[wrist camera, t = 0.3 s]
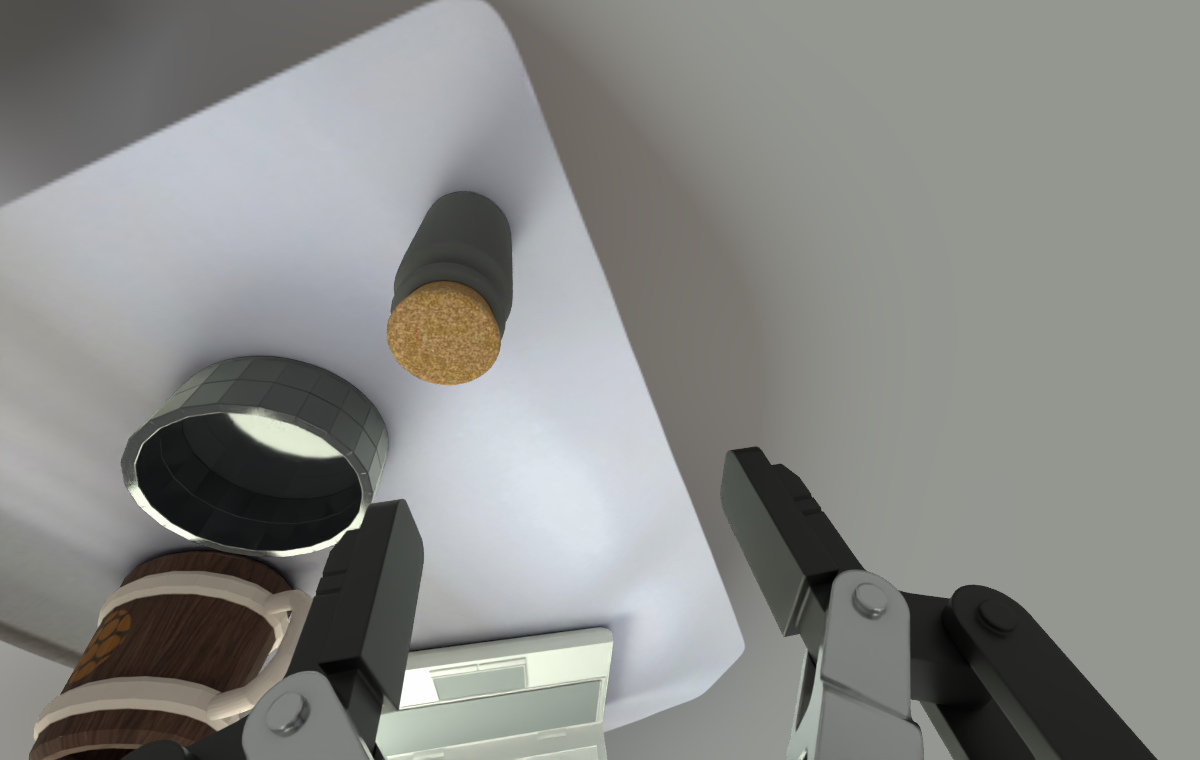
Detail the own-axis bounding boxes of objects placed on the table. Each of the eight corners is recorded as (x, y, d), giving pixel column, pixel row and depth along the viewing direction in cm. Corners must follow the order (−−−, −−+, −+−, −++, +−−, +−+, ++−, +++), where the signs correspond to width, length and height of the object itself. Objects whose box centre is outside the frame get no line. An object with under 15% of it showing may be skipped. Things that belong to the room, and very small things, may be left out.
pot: (126, 370, 34) (61, 423, 29) (352, 343, 35) (328, 388, 31) (233, 512, 43) (198, 571, 38) (410, 485, 44) (399, 538, 39)
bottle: (500, 284, 35) (495, 406, 23) (417, 261, 33) (363, 381, 21) (521, 207, 32) (530, 298, 20) (432, 177, 30) (380, 257, 18)
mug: (198, 644, 52) (104, 822, 40) (83, 570, 44) (-82, 769, 32) (370, 596, 53) (329, 759, 40) (289, 512, 44) (205, 688, 32)
